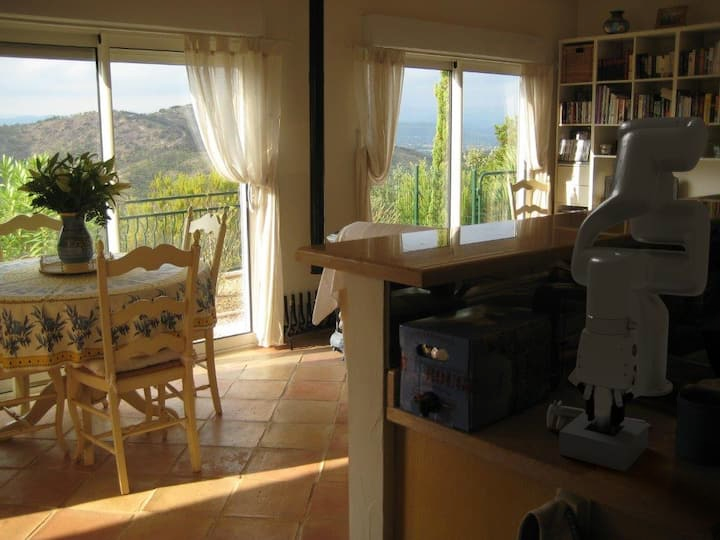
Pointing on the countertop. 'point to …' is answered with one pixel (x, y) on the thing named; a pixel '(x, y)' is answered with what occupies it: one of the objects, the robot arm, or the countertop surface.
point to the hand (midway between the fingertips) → (604, 420)
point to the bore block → (604, 443)
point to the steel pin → (603, 410)
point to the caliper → (569, 414)
